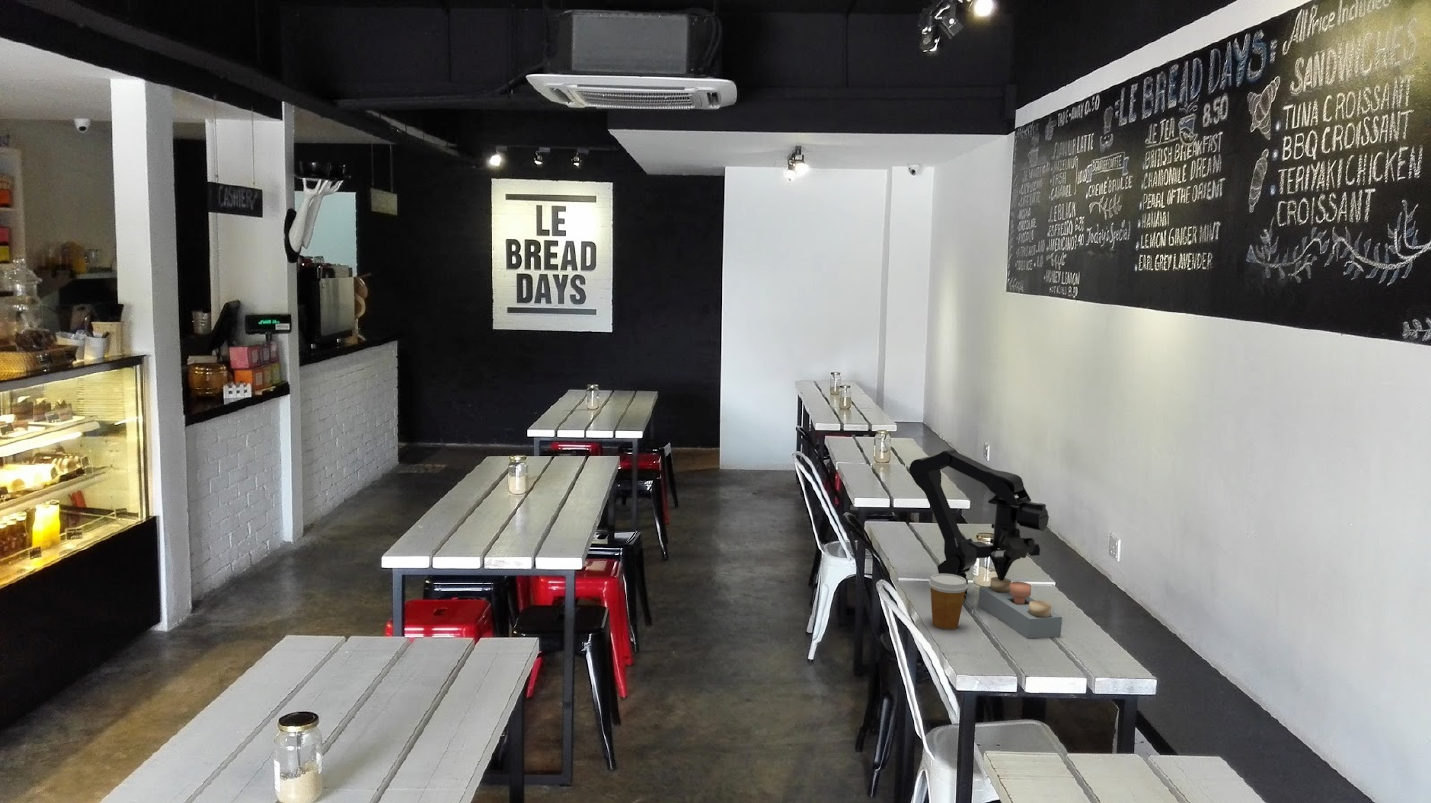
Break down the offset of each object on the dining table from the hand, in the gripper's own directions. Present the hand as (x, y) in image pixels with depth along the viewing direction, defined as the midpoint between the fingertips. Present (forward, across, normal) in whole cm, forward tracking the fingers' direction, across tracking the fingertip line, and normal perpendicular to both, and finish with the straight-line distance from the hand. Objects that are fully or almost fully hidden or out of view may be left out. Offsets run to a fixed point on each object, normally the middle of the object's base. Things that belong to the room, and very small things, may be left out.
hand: (1001, 580), depth 268 cm
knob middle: (+6, 0, -9) cm, 11 cm away
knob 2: (+7, 0, -18) cm, 20 cm away
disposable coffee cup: (+8, -20, -9) cm, 24 cm away
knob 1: (+7, 0, 0) cm, 7 cm away
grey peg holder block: (+8, 0, -9) cm, 12 cm away
